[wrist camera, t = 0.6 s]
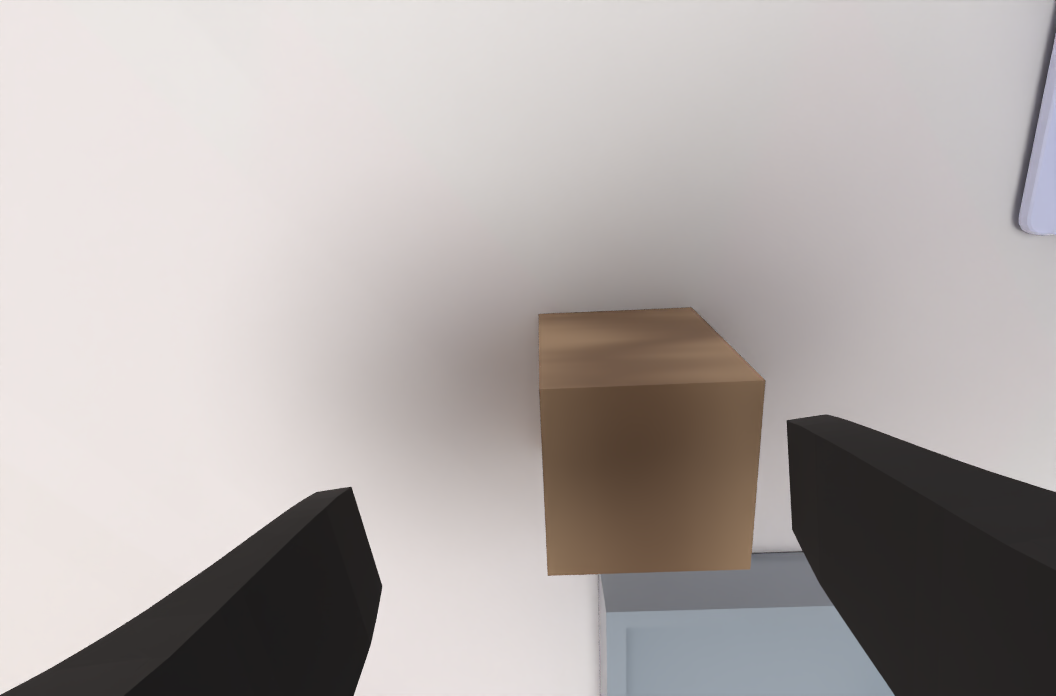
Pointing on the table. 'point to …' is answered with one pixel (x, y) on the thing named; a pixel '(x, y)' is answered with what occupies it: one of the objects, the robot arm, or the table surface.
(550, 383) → the walnut block
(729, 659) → the tray
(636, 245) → the table surface
